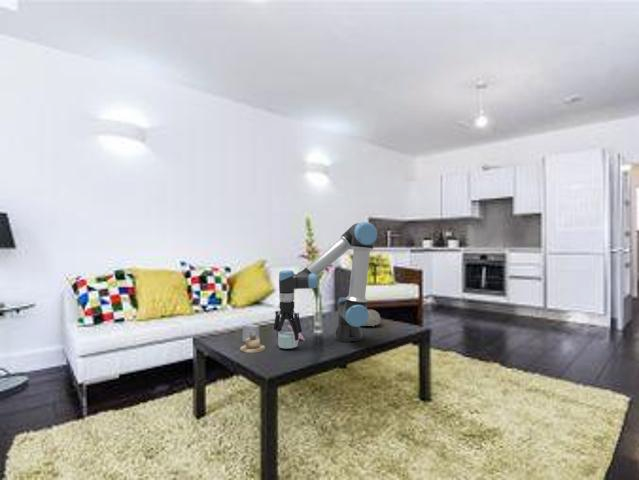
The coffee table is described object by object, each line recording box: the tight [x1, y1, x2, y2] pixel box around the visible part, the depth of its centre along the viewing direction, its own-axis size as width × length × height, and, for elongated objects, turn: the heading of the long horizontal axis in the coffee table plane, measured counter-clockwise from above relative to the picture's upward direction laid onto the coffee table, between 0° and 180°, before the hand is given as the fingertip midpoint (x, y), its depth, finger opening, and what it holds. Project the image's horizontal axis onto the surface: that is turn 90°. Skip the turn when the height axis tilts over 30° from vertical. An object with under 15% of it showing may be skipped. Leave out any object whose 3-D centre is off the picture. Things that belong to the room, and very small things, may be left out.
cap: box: [277, 331, 295, 349], centre depth 188 cm, size 9×9×6 cm
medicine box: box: [242, 324, 260, 343], centre depth 200 cm, size 8×4×9 cm, turn 74°
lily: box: [287, 324, 306, 343], centre depth 202 cm, size 12×12×10 cm
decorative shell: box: [361, 308, 382, 327], centre depth 239 cm, size 18×18×10 cm
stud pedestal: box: [240, 331, 266, 354], centre depth 186 cm, size 12×12×9 cm
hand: (287, 345), depth 188 cm, fingers closed on cap, 9 cm apart
